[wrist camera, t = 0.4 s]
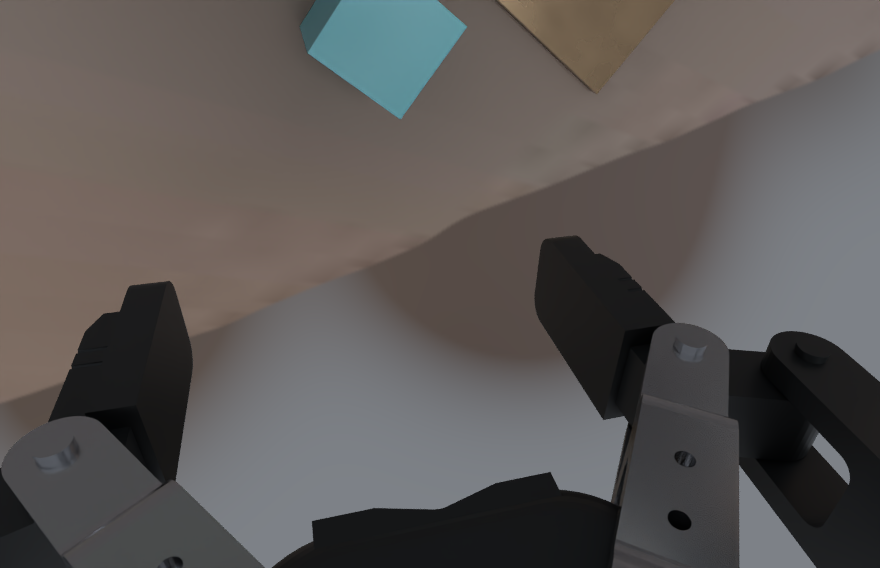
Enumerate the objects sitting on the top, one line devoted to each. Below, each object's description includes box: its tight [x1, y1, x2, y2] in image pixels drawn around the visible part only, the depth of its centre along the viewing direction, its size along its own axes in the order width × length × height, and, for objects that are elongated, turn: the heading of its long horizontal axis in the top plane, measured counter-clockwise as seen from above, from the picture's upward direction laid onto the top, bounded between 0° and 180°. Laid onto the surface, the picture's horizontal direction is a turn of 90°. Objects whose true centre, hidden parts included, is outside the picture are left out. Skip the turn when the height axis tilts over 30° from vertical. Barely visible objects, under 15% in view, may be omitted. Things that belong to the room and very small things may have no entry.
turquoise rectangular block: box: [300, 0, 467, 119], centre depth 29 cm, size 5×5×7 cm
